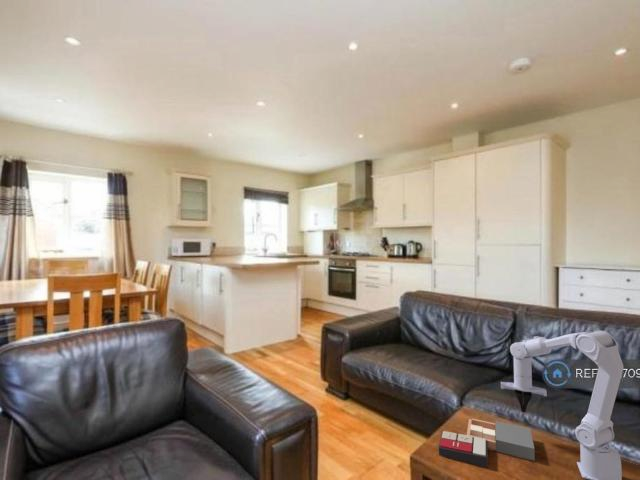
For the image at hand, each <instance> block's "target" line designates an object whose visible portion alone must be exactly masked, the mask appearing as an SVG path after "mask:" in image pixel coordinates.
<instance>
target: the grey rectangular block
mask: <svg viewBox="0 0 640 480" xmlns="http://www.w3.org/2000/svg"><path fill="white" fill-rule="evenodd" d="M495 438H496V451H495V452H498V453H501V454H505V455H509V456H513V457H516V458H521V459H525V460H530V461H534V462H535V461H536V460H535V459H536V457H535V456H536V455H535V454H536V452H535V445H534V444H535V443H534V441H533V435H532V430H531V427H526V426H521V425H517V424H512V423H507V422H503V421H502V422H501V421H498V420H495Z"/></svg>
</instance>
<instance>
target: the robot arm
mask: <svg viewBox="0 0 640 480" xmlns="http://www.w3.org/2000/svg"><path fill="white" fill-rule="evenodd" d="M569 346H571V347H572V348H573V349H574V350H577V349H578V350H579V351H580V352H581V353H583V355H585V356H586V357H588V358H589V360H591V361H592V362H594V363H595V364H596V366H597V367H598V368H597V374H596V376H595V377H596V378H595V381H594V385H593V390H592V393H591V398H590V402H589V405H588V410H587V413H586V414H585V416H584V417H583V418H582V419H581V422H580V425H578V426H576V428H575V430H574V434H575V437H576V439H577V440H578V442H579V445H580V447H579V449H580V451H579V452H580V454H579V455H580V456H579V457H580V459H579V460H580V461H576V464H577V467H578V470H579V473H580V475H581V477H582V478H583V479H586V480H622V479H623V478H622V477H623V475H622V474H623V473H622V472H623V471H622V459H621V456H620V453H619V451H618V450H617V449H616V448H612V447H611V443H610V442H612V441H613V440H614V439H615V432H614V429H613V428H614V422H613V421H612V420H611V418H612V417H611V416H612V413H613V410H614V406H615V401H616V398H617V394H618V390H619V387H620V383H621V379H622V375H623V372H624V364H623V361H622V358H621V355H620V352H619V350H618V348H619V342H618V341H616V339H615V338H614V337H613V335H611V334H610V333H609V332H607V331H604V330H595V331H582V332H581V331H580V332H574V333H568V334H565V335H560V336H556V337H553V338H546V337H544V336H539V335H537V336H536V335H535V336H533V338H531V339H522V341H518V342H514V343H512V344H511V345H510V347H509V352H510V354H511V355H512V356H513V382H508V381H507V382H505V381H500V389H501V390H504V389H505V390H510V391H511V390H512V391H514V393H515V397H516V398H517V400H518V403H519V406H520V410H521V411H520V412H521V413H527V407H528V405H529V402H530V401H531V399H532V397H533V395H532V394H535V395H541V396H543V397H547V395H548V394H547V392H548V391H547V389H546V388H543V387H539V386H534V385H533V375H532V373H533V372H532V370H533V369H532V367H533V366H532V361H533V357H538V356H542V355H549V354H551V352H552V350H553V349H556V348H563V347H569Z"/></svg>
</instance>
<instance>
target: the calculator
mask: <svg viewBox="0 0 640 480" xmlns="http://www.w3.org/2000/svg"><path fill="white" fill-rule="evenodd" d="M437 450H438V456H440V457H445V458H448V459H452V460H455V461H461V462H464V463H469V464H473V465H474V464H475V465H474V466H478V467H482V468H486V469H488V468H489V450H488V444H487V440H486V439H482V438H476V437H472V436H468V435H467V434H462V433H458V434H457V432H452V431H447V430H446V431H445V430H444V431H442V432H441V434H440V439H439V444H438V449H437Z"/></svg>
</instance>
